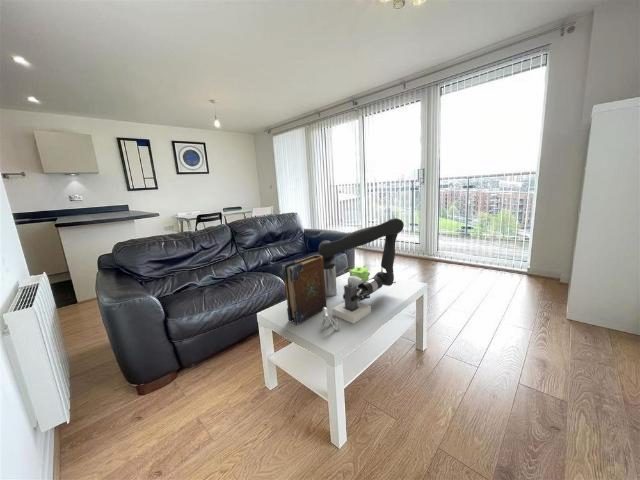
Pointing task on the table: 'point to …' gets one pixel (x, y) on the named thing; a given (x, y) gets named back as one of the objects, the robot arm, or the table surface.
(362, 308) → the socket
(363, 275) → the teapot
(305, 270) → the decorative book
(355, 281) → the photo printer
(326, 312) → the portable electronic device stand
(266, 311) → the table surface
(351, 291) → the plug
